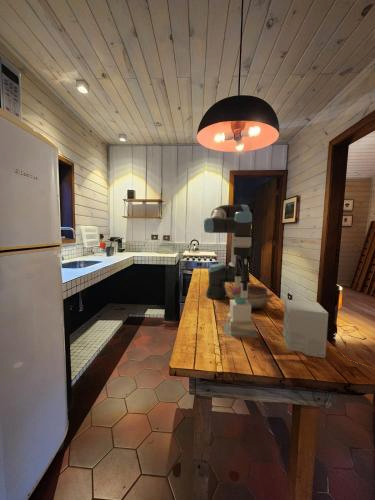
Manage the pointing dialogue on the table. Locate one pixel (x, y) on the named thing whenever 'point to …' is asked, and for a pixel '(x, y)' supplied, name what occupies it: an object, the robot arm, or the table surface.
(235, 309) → the cream block
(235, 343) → the table surface
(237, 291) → the cupcake
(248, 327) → the maple base block
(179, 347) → the table surface
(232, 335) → the slate board
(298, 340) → the supplement box
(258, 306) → the cooking pot
